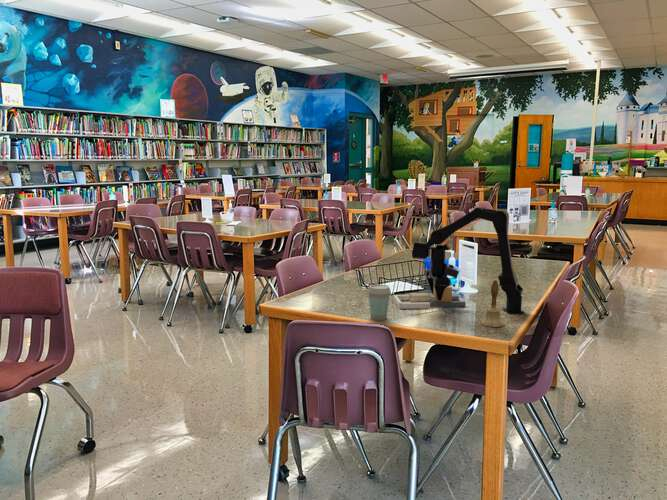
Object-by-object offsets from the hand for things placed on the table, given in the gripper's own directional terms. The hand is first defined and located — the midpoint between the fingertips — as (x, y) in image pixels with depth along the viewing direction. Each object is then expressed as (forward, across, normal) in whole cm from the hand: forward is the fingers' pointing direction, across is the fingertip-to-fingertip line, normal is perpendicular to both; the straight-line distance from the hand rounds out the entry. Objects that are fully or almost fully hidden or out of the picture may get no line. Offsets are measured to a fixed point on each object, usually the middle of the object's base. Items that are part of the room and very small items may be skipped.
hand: (436, 297), depth 239 cm
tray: (+2, 0, +10) cm, 10 cm away
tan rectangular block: (+2, 0, -2) cm, 3 cm away
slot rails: (+2, 0, -3) cm, 4 cm away
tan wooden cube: (+2, 0, +9) cm, 9 cm away
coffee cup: (+3, -20, +27) cm, 34 cm away
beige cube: (+2, 0, +5) cm, 6 cm away
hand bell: (+3, -30, -13) cm, 33 cm away
